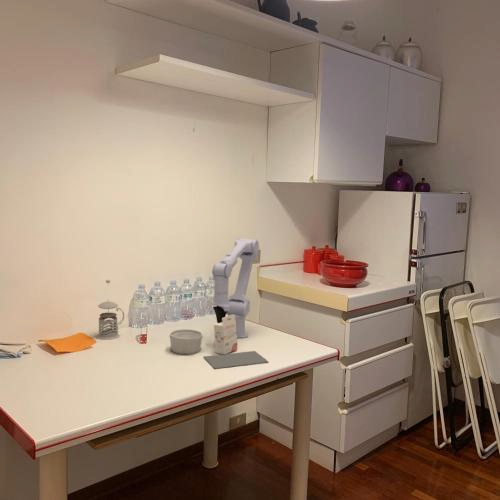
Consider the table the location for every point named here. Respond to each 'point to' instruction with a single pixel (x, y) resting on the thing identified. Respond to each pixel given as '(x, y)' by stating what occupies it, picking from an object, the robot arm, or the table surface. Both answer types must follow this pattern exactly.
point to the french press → (108, 321)
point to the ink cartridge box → (226, 335)
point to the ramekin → (185, 341)
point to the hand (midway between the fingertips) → (220, 323)
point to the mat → (235, 359)
